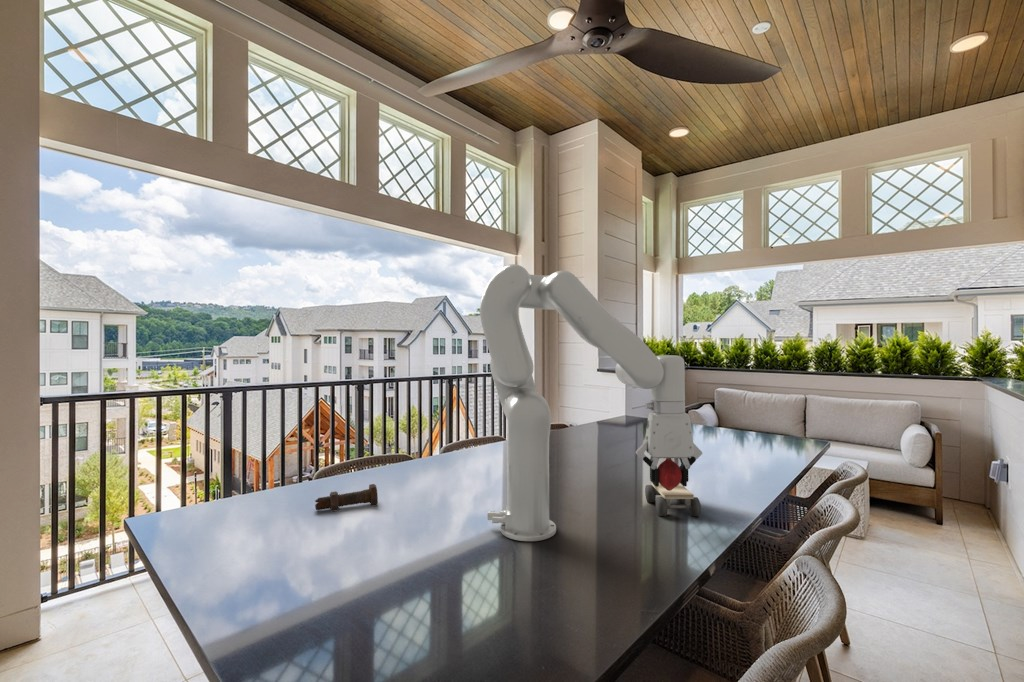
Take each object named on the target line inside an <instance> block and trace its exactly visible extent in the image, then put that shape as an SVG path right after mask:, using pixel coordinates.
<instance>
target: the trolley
mask: <svg viewBox="0 0 1024 682" xmlns="http://www.w3.org/2000/svg"><path fill="white" fill-rule="evenodd" d="M673 462H675V463H676V464H677V465H678V466H679V458H673ZM644 495H645V500H646V502H647V503H655V509H656V514H657V515H658V517H667V516H668V509H688V513H689V515H690V516H691V517H700V516H701V513H702V507H701V501H700V499H699V498H698V497H696V496H695V495H694V494H693V493H692V492H691V491H690V490H688V489H687V488H686V486H683V485H682V484H681V483H680V484H679V485H678V486H677V487H675V488H674V489H672V490H670V491H668V490H666V489H665V488H664V487H663V486H661V484H660V483H659V486H658V487H655V485H654V484H653V483H652V482H651V481H650V484H646V485H645V488H644ZM656 496H657V497H656ZM671 500H676V502H677V503H684V504H671Z"/></svg>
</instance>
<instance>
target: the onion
mask: <svg viewBox="0 0 1024 682" xmlns="http://www.w3.org/2000/svg"><path fill="white" fill-rule="evenodd" d="M657 469H658V470H659V483H660V484H661V486H663V487H664V488H665V489H666V490H668V491H670V490H672V489H674V488H675V487H677V486H678V485H679V484H680V482H681V479H682V472H681V469H680V465H679V464H678V465H677V464H676V463H675V462H674V460H672V458H665V460H663V461H662V462H661V463H660V464H658V465H657Z"/></svg>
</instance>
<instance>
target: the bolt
mask: <svg viewBox="0 0 1024 682" xmlns="http://www.w3.org/2000/svg"><path fill="white" fill-rule="evenodd" d="M314 502H315V505H314V507H315V510H316V511H317V512H318V511H322V510H328V509H330V512H335V511H334V510H337V511H339V510H340V509H339V508H342V507H348V506H353V505H359V504H368V503H369V504H370V503H371V504H370V506H371V507H374V506H373V505H376V506H377V505H378V502H379V500H378V488H377V484H374V483H372V484H370V483H369V486H368V488H367V489H362V490H359V491H353V492H346V493H341V494H339V493H338V491H336V490H335V491H331V492H330V493H329V495H328V496H323V497H318V498H317V499H315V500H314ZM338 509H339V510H338Z"/></svg>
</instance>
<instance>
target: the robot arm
mask: <svg viewBox="0 0 1024 682" xmlns="http://www.w3.org/2000/svg"><path fill="white" fill-rule="evenodd" d="M479 307H480V309H479V311H480V312H479V313H480V314H479V315H480V322H481V327H482V330H483V334H484V338H485V341H486V345H487V349H488V352H489V355H490V356H489V357H490V361H489V369H490V373H491V376H492V379H493V383H494V386H495V389H496V392H497V395H498V398H499V402H500V404H501V409H502V411H503V413H504V415H505V418H506V419H507V437H506V438H507V439H506V441H507V442H506V466H507V467H506V490H507V491H506V502H507V503H506V506H505V509H501V511H496V510H494V511H492V510H491V511H489V510H488V511H487V521H491V523H492V524H500V526H499V527H500V533H501V534H502V536H504V537H506V538H508V539H509V540H514V541H519V542H539V541H544V540H548V539H550V538H551V537H553V536H554V535H555V534H556V533H557V524H556V523H555V521H552V520H551V519H550V435H551V426H552V425H551V423H552V413H551V408H550V406H549V403H548V401H547V400H546V399H545V397H544V396H543V395H542V394H540V393H538V389H537V386H536V384H535V380H534V376H533V375H534V374H533V373H534V367H535V366H534V362H533V361H534V360H533V358H532V356H531V353H530V350H529V348H528V345H527V342H526V339H525V335H524V333H523V329H522V325H521V321H520V315H519V313H520V312H519V310H520V308H521V309H522V308H523V309H532V310H548V311H549V310H553V311H554V310H555V311H556V312H557V313H558V314H559V315H560V316H561V317H562V318H563V320H564V321H565V322H566V323H567V324H568V325H570V327H571V328H572V329H573V331H574V332H576V334H577V335H579V337H580V338H581V339H582V340H583V341H585V342H586V343H587V344H589V345H590V346H592V347H594V348H597V349H598V350H600V351H601V352H604V353H605V355H608V357H610V358H611V359H612V360H613V361H615V363H616V365H615V375H616V377H617V379H618V380H619V382H621V383H622V384H624V385H626V386H629V387H633V388H638V389H640V390H650V389H651V390H650V394H651V397H650V401H649V402H646V403H645V405H644V407H645V409H647V410H650V412H649V413H648V416H647V422H646V432H645V441H644V442H642V444H641V445H640V446H639V447H638V448H637V449H636V451H635V454H636V455H637V456H638V457H639V458H640V459H641V460H642V461H643V462H644V463H645V464H646V465H647V466H648V467H649V481H650V483H651V482H652V483H653V484H654V485H655V487H658V486H659V470H658V469H657V468H658V465H659V464H658V463H659V461H660V459H666V458H671V459H674V458H678V461H679V462H680V465H679V467H680V469H681V472H682V479H681V482H680V483H681V484H682V485H683V486H684V487H687V486H688V485H687V484H688V482H689V470H690V469H691V466H692V465H693V464H694V463H695V462H696V461H697V460H698V459H699V458H700V457H701V456H702V455H703V451H702V450H701V449H700V448H699V447H698V446H697V445H696V444H695V443H694V437H693V436H694V435H693V428H692V422H691V417H690V414H689V413H686V387H685V386H686V384H685V383H686V382H685V381H686V380H685V379H686V378H685V359H684V357H682V356H680V355H676V354H674V355H672V354H671V355H670V354H669V355H668V354H665V355H663V354H662V355H656V354H655V353H654V352H653V350H651V349H650V347H649V346H648V345H647V344H646V343H645V342H644V341H643V340H642V339H641V338H640V337H639V336H638V335H637V334H636V333H635V332H633V331H632V330H630V328H629V327H627V326H626V325H624V324H623V323H622V322H621V321H619V319H617V318H616V317H614V316H613V315H612V314H611V313H610V312H609V311H608V310H607V309H606V308H605V307H604V305H602V304H601V302H600V301H599V300H598V298H597V299H596V297H595V295H593V293H591V291H590V290H589V289H588V288H587V287H586V286H585V285H584V284H583V283H582V281H581V280H580V279H579V278H578V277H577V276H575V274H573V273H572V272H571V271H568V270H563V269H562V270H558V271H555V272H552V273H551V274H549V275H546V274H545V275H543V274H530V273H529V272H528V270H527V269H526V268H525V267H523V266H521V265H519V264H513V263H512V264H508V265H505V266H503V267H501V268H500V269H499V270H497V272H496V273H494V275H493V276H492V277H491V278H490V280H489V281H488V283H487V284H486V286H485V288H484V290H483V293H482V296H481V301H480V306H479ZM645 452H646V453H647V454H649V455H650V457H648V456H647V455H645Z"/></svg>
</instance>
